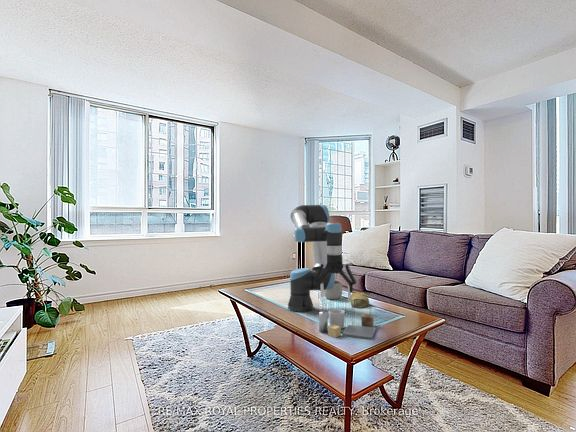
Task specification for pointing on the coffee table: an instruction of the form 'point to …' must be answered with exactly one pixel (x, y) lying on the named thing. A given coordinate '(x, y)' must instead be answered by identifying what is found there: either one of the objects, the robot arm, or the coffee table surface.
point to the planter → (334, 291)
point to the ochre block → (334, 331)
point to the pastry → (359, 299)
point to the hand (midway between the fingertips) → (335, 297)
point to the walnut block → (367, 320)
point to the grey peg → (323, 322)
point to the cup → (336, 317)
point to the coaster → (359, 332)
